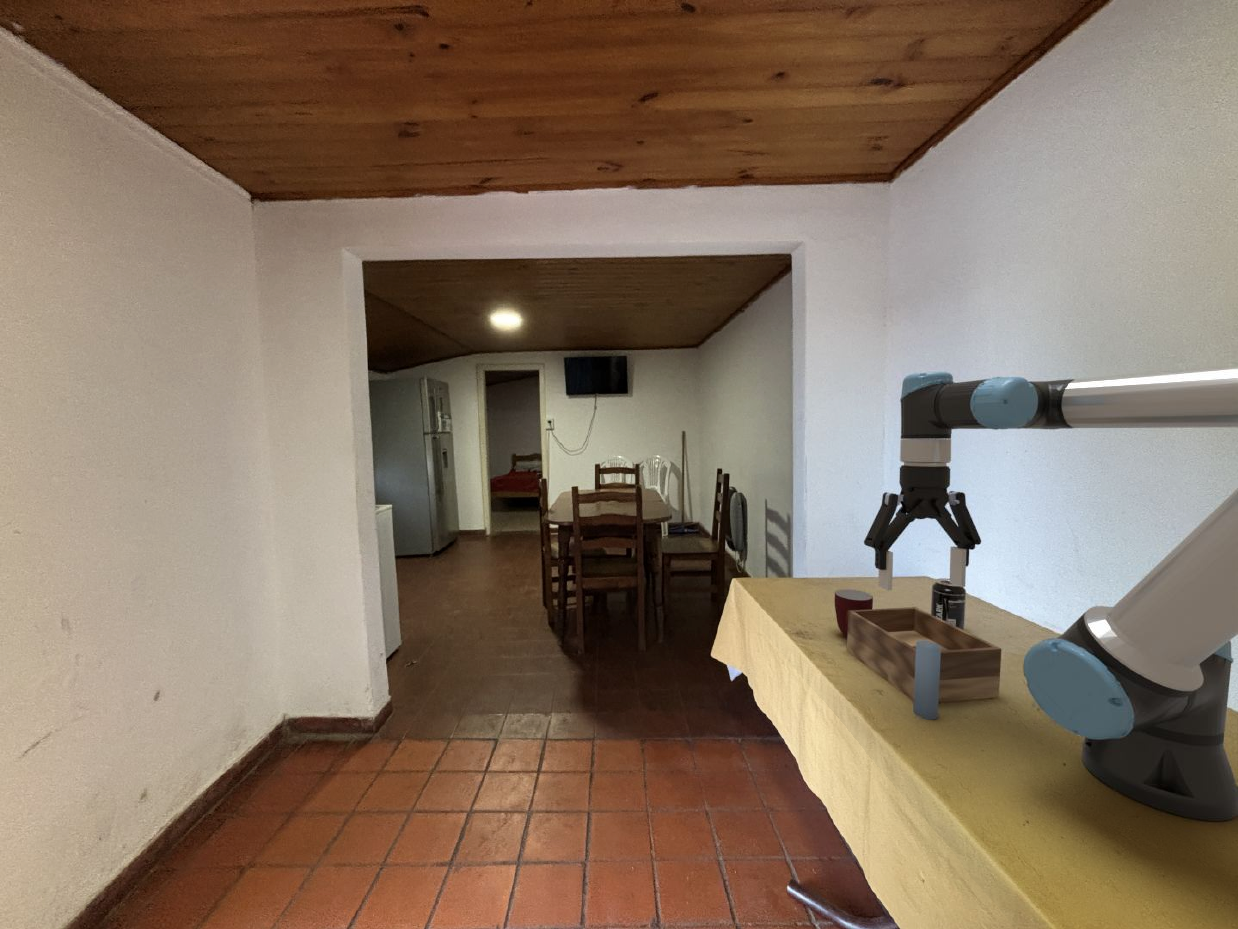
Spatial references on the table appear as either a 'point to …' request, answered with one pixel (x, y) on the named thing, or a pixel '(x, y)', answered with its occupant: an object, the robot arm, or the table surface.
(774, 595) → the table surface
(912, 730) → the table surface
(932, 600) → the beverage can
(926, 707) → the peg
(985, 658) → the tray box
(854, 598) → the mug
